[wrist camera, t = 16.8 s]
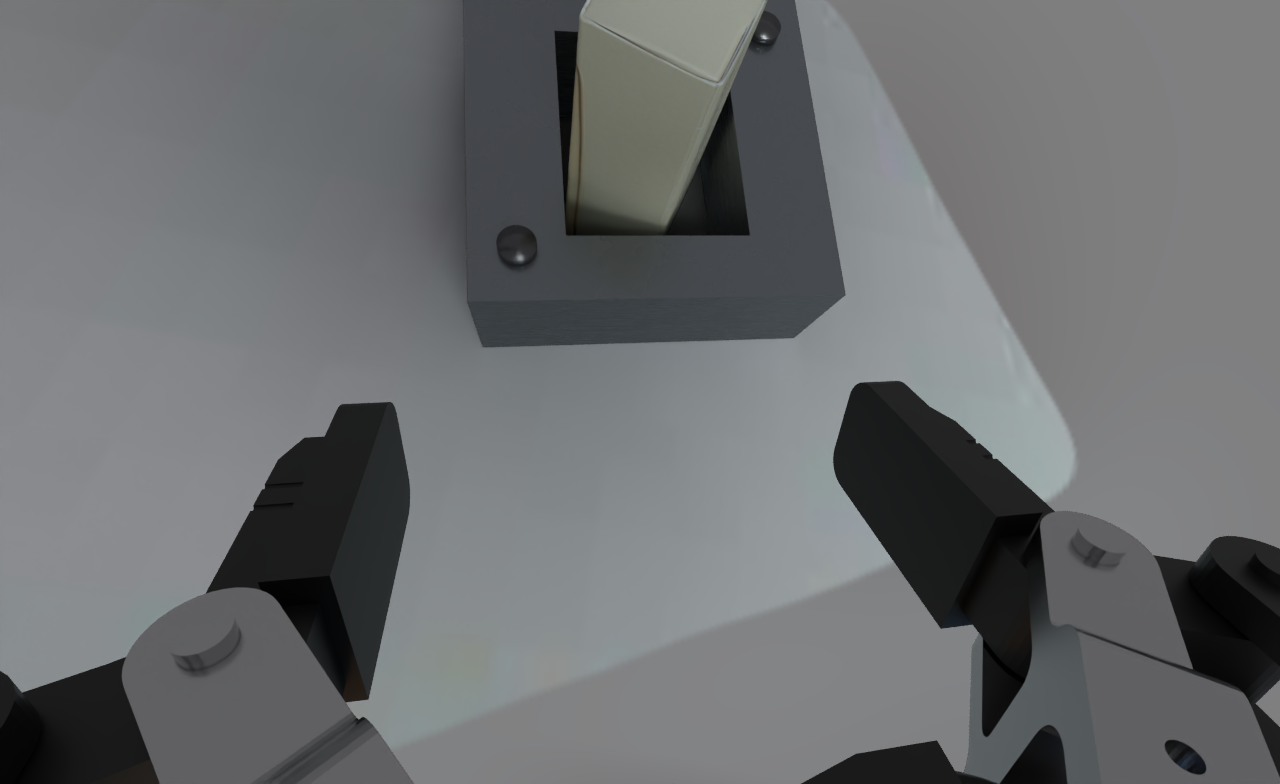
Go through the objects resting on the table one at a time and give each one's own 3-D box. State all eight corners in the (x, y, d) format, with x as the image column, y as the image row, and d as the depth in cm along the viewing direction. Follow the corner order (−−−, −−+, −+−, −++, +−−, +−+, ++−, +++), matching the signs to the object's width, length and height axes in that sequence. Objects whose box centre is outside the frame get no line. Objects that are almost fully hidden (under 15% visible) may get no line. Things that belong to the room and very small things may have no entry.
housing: (482, 347, 25) (465, 296, 20) (477, 69, 28) (461, -36, 23) (793, 337, 27) (850, 290, 22) (755, 81, 31) (797, -12, 26)
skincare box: (616, 135, 29) (662, -142, 17) (699, 175, 29) (801, -73, 17) (560, 239, 27) (569, 9, 15) (648, 281, 27) (724, 85, 15)
